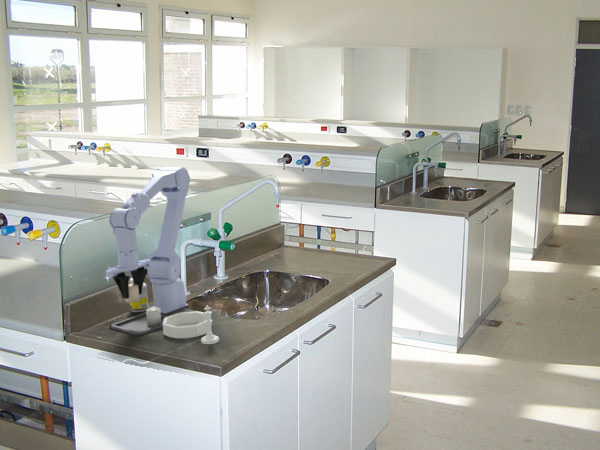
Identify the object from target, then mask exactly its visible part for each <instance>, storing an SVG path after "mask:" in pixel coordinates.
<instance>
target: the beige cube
mask: <svg viewBox="0 0 600 450" xmlns="http://www.w3.org/2000/svg"><path fill="white" fill-rule="evenodd" d="M128 290H129V298H128V299H125V298H124V300H125V303H127V304H130V303H133V302H137V301H139V300H140V298H139V288H138V284H134V283H133V284H130V283H128Z"/></svg>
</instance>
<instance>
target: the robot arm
mask: <svg viewBox="0 0 600 450" xmlns="http://www.w3.org/2000/svg"><path fill="white" fill-rule="evenodd" d="M190 182H191V177H190V174H189V172H188V169H187V168H186V167H182V166H181V167H162V166H158V167H156V168H155V169H154V171H152V173H151V179H150V180H149V181H148V183H147V184H146V185H145V187H143V189H142V190H141V191H136V192H132V194H131V196H130V197H129V198H128V199H127V200H126V201H125V202H124V203H123V204H122V205H121V206H120V207H117V208H115V209H114V210H112V211H111V213H110V215H109V220H108V223H109V225H110V227H111V228H112V233H113V235H114V236H115V237H114V238H115V244H116V253H117V254H116V255H117V262H118V264H117V265H116V266H113V267H112V268H109V269H107V270H105V277H106V278H109V279H113V281H114V283H116V285H117V287H118V290H119V292H120V294H121V297H122V299H124V300H125V299H128V298H129V290H128V284H130V276H129V275H126V273H129V272H130V274H131V278H133V282H134V284H138V288H139V295H140V294H142V287H143V282H144V283H145V278H147V279H149V282H150V283H151V285H152V297H153V305H152V306H151V307H150V308H152V307H159V308H160V311H161V313H162V314H167V313H171V312H173V311H176V310H179V309H181V308H182V309H183V308H184V307H186V306H188V303H187V301H186V300H187V299H186V291H185V289H186V287H185V284H184V281H183V280H182V278H180V276H181V273H182V272H181V271H182V269H181V268H182V267H181V264H182V263H181V262H182V258H181V257H180V255H179V254H178V253H177V252H176V247H177V244H178V243H177V242H178V237H179V234H180V233H179V232H180V227H181V223H182V219H183V213H184V208H185V203H186V197H187V196H188V193H189V189H190V188H189V187H190ZM159 193H161V194H162V195H163V196H164V197H165V198H166V199H167V202H166V207H165V212H164V216H163V220H162V226H161V229H160V230H161V231H160V235H159V240H158V245H157V248H156V249H154V250H153V251H152V252H151V253H149V256H148V258H145V259H141V260H139V248H138V241H137V239H138V238H137V231H136V230H137V229H136V228H137V227H138V226H139V223H140V219H141V218H142V216H143V214H144V213H145V212H146V211H147V210H148V208H149V207H150V206H151V200H152V199H153V198H154V197H155V196H156V195H158V194H159Z"/></svg>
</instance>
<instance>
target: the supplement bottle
mask: <svg viewBox="0 0 600 450" xmlns="http://www.w3.org/2000/svg"><path fill="white" fill-rule="evenodd" d="M133 283H134V282H133V278H132V277H131V278H129V284H133ZM148 296H149V295H148V288H147V284H146V283H145V281H144V282H143V287H142V294H140V295H139V298H140V300H139V301H137V302H133V303H129V307H130V306H131V309H130V311H131V312H133V313H138V312H139V313H140V312H145V311H146V309H148V308H150V305H149V297H148Z"/></svg>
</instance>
